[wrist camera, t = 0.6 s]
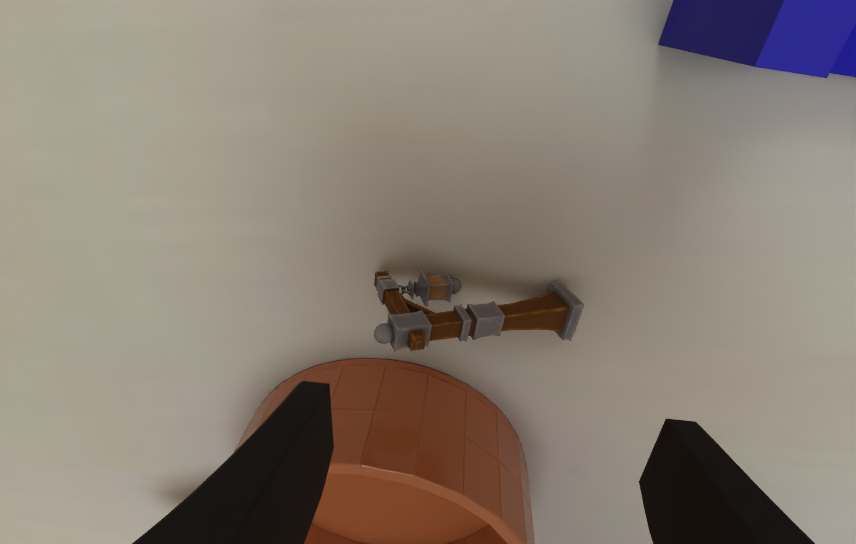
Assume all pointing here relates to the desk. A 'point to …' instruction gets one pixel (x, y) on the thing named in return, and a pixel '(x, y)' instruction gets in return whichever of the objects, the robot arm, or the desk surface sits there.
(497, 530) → the orange brown bowl
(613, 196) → the desk surface
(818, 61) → the cable clip
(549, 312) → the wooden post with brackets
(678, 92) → the desk surface
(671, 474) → the robot arm
